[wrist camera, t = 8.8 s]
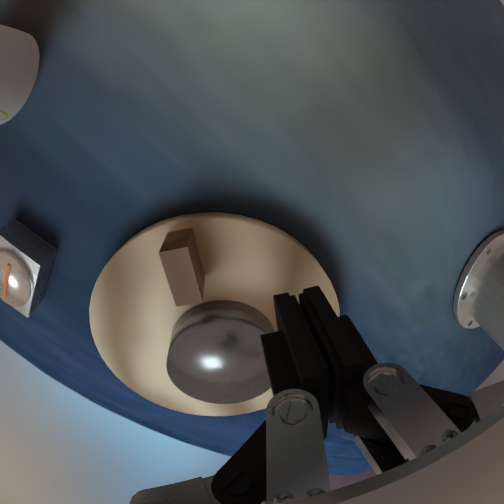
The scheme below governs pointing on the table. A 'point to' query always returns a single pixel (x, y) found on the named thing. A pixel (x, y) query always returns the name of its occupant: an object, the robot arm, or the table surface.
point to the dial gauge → (24, 266)
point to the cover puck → (219, 352)
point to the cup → (16, 70)
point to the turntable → (192, 294)
